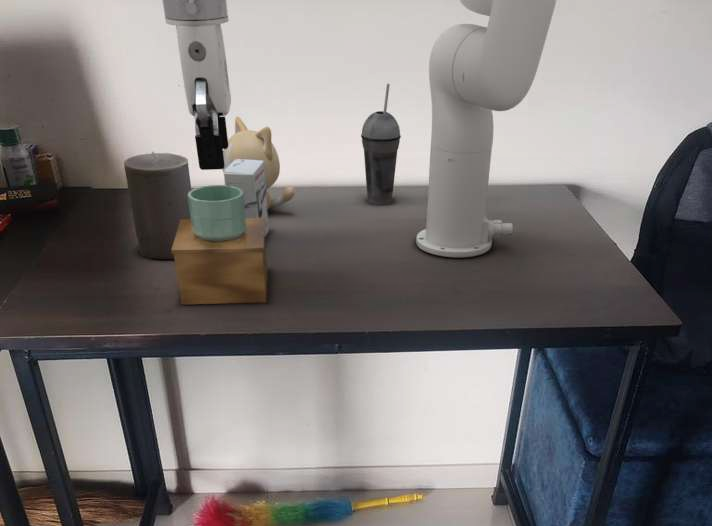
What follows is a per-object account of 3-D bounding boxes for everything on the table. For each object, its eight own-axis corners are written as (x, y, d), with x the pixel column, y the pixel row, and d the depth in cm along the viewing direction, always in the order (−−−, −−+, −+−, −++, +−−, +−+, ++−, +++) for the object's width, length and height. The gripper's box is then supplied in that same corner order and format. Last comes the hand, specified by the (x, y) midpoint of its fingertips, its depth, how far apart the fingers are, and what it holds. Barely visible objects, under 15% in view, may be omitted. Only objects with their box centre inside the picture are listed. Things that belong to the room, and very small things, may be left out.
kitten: (208, 205, 143) (197, 117, 134) (253, 195, 148) (246, 110, 139) (252, 226, 134) (244, 134, 125) (298, 215, 139) (294, 125, 130)
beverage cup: (356, 196, 148) (356, 80, 136) (391, 193, 150) (394, 79, 138) (367, 208, 143) (368, 89, 130) (403, 205, 145) (408, 87, 132)
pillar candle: (132, 259, 122) (113, 159, 112) (148, 237, 129) (131, 142, 120) (192, 261, 121) (179, 161, 112) (205, 239, 129) (193, 144, 120)
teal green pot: (247, 223, 112) (244, 184, 109) (245, 241, 106) (242, 201, 103) (195, 224, 111) (190, 185, 108) (191, 243, 105) (185, 202, 102)
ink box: (259, 248, 126) (253, 173, 119) (229, 247, 126) (221, 172, 119) (270, 230, 133) (264, 158, 125) (242, 229, 133) (235, 157, 126)
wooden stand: (268, 269, 119) (264, 217, 114) (267, 303, 109) (263, 247, 104) (187, 271, 118) (180, 219, 113) (179, 305, 108) (171, 249, 103)
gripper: (223, 17, 86) (240, 176, 96) (230, -2, 99) (245, 140, 110) (154, 18, 85) (180, 178, 96) (171, -1, 98) (192, 142, 109)
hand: (214, 158), depth 103 cm, fingers open, 9 cm apart
